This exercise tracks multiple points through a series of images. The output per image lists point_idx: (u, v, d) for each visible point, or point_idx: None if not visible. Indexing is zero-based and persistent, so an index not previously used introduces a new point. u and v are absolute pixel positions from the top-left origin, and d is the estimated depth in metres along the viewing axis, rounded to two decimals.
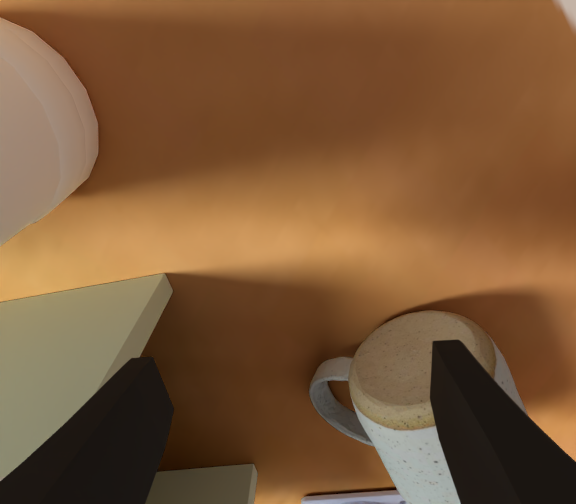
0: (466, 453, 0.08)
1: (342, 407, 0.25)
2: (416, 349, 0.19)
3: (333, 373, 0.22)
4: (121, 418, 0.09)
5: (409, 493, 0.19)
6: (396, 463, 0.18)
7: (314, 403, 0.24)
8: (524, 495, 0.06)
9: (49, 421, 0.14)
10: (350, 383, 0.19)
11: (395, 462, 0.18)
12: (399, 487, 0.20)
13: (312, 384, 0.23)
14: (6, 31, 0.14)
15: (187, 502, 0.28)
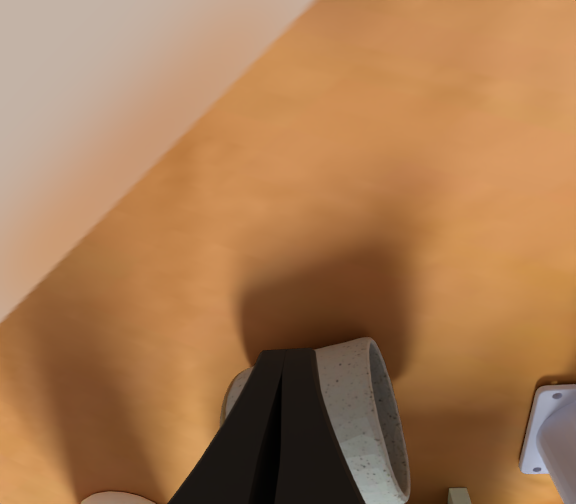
0: None
1: None
2: None
3: None
4: (277, 412, 0.09)
5: None
6: None
7: None
8: (282, 498, 0.06)
9: None
10: None
11: None
12: None
13: None
14: None
15: None
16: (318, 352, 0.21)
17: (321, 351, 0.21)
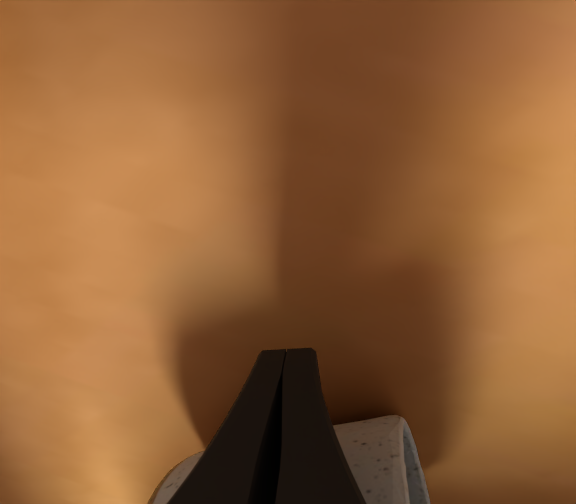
0: None
1: None
2: None
3: None
4: (277, 412, 0.09)
5: None
6: None
7: None
8: (283, 497, 0.06)
9: None
10: None
11: None
12: None
13: None
14: None
15: None
16: None
17: None
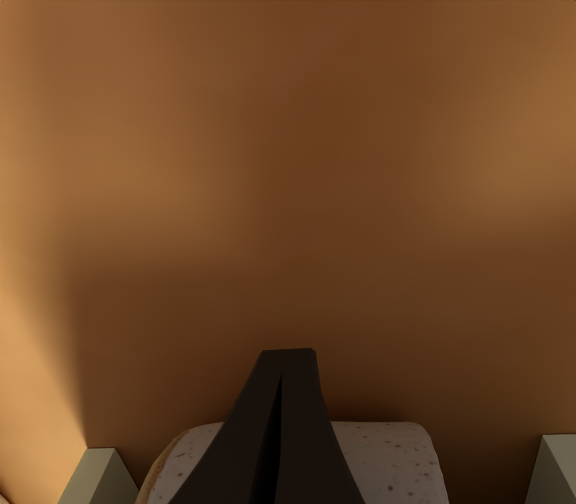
0: None
1: None
2: None
3: None
4: (277, 412, 0.09)
5: None
6: None
7: None
8: (282, 498, 0.06)
9: None
10: None
11: None
12: None
13: None
14: None
15: None
16: (338, 440, 0.11)
17: (343, 439, 0.11)
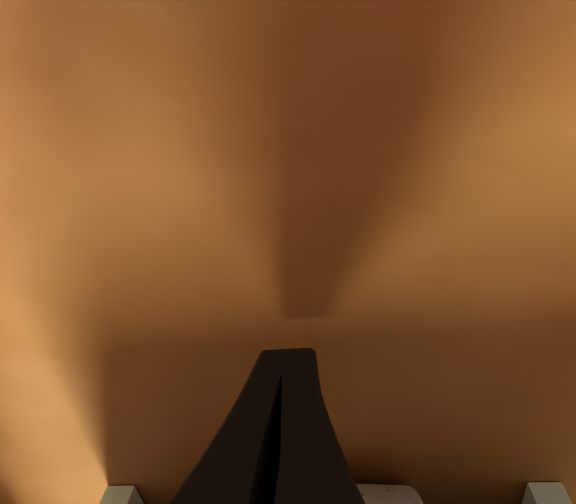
0: None
1: None
2: None
3: None
4: (277, 412, 0.09)
5: None
6: None
7: None
8: (282, 498, 0.06)
9: None
10: None
11: None
12: None
13: None
14: None
15: None
16: None
17: None
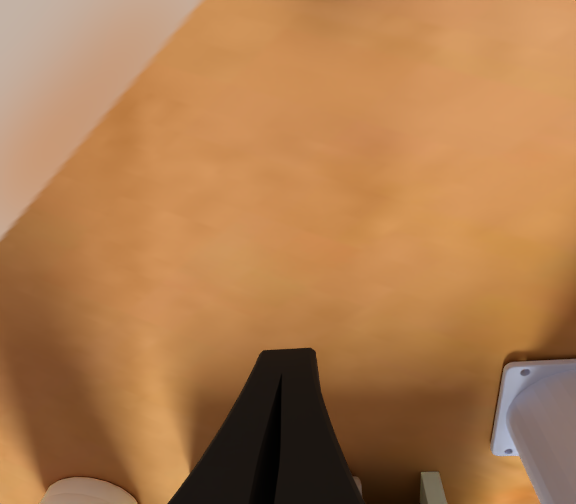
0: None
1: None
2: None
3: None
4: (277, 412, 0.09)
5: None
6: None
7: None
8: (282, 497, 0.06)
9: None
10: None
11: None
12: None
13: None
14: None
15: None
16: None
17: None
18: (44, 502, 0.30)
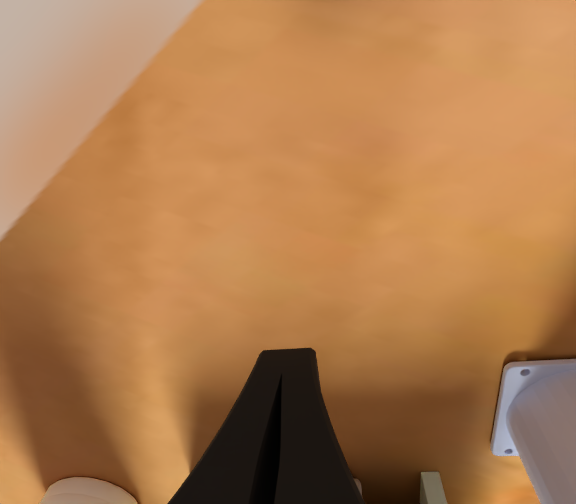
0: None
1: None
2: None
3: None
4: (277, 412, 0.09)
5: None
6: None
7: None
8: (282, 497, 0.06)
9: None
10: None
11: None
12: None
13: None
14: None
15: None
16: None
17: None
18: (44, 502, 0.30)
